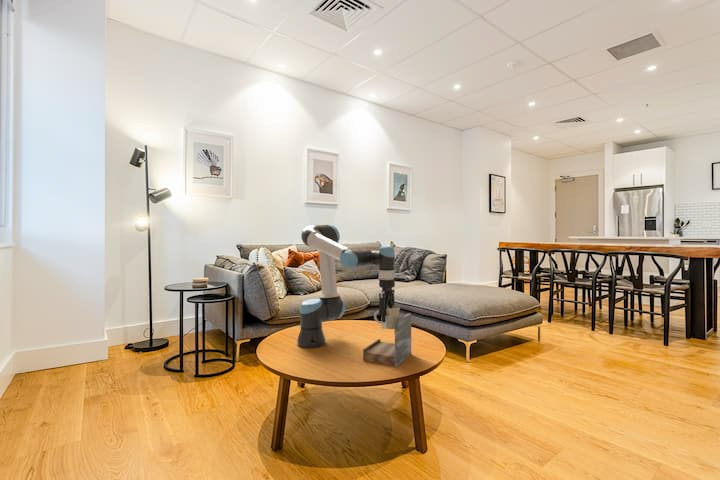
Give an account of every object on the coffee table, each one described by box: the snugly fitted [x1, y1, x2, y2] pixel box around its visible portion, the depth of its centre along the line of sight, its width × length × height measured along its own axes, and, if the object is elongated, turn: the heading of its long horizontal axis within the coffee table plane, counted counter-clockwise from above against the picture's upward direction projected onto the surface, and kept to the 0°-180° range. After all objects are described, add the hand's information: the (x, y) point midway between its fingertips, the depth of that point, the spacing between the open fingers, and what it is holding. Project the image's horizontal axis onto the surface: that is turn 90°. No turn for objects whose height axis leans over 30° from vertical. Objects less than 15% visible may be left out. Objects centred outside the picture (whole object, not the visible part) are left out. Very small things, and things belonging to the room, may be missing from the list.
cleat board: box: [362, 313, 412, 367], centre depth 171 cm, size 18×18×20 cm
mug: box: [373, 305, 401, 330], centre depth 170 cm, size 8×13×10 cm, turn 79°
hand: (387, 326), depth 171 cm, fingers closed on mug, 6 cm apart
